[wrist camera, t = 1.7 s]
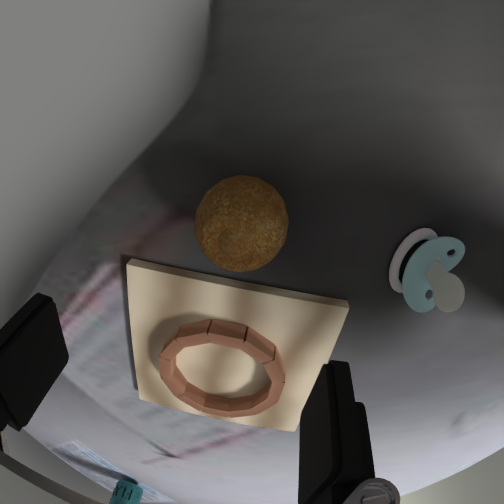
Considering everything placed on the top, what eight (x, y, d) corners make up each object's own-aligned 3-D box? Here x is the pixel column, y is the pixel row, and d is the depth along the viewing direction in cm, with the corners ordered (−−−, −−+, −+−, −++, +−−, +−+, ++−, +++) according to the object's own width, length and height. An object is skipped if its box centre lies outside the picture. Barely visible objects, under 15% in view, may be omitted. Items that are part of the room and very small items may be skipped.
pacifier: (374, 286, 27) (427, 302, 27) (389, 329, 22) (447, 345, 22) (409, 212, 24) (463, 236, 24) (436, 243, 19) (495, 269, 18)
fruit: (196, 185, 25) (159, 221, 18) (268, 151, 23) (258, 173, 16) (232, 251, 27) (211, 307, 20) (302, 223, 25) (305, 273, 18)
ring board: (347, 300, 28) (352, 322, 25) (294, 424, 37) (294, 444, 34) (132, 258, 29) (116, 275, 26) (142, 392, 38) (134, 410, 35)
